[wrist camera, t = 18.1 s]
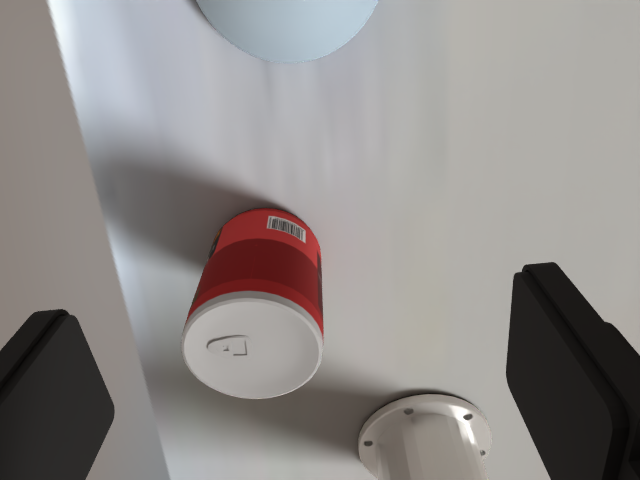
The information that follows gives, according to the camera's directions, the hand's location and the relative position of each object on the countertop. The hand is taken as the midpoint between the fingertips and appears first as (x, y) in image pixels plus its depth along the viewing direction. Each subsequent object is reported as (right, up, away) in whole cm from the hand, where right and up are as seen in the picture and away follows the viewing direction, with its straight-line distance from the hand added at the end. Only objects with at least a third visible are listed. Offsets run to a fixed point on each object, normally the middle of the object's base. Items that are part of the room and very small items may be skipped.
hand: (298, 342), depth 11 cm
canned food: (-4, +2, +27) cm, 27 cm away
